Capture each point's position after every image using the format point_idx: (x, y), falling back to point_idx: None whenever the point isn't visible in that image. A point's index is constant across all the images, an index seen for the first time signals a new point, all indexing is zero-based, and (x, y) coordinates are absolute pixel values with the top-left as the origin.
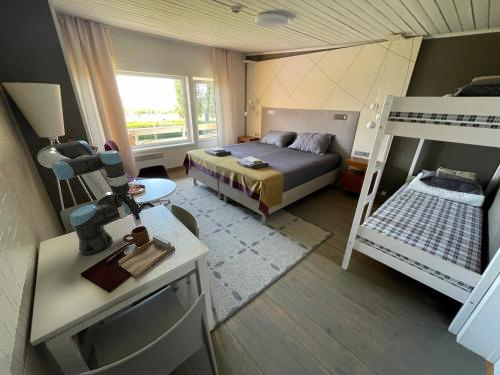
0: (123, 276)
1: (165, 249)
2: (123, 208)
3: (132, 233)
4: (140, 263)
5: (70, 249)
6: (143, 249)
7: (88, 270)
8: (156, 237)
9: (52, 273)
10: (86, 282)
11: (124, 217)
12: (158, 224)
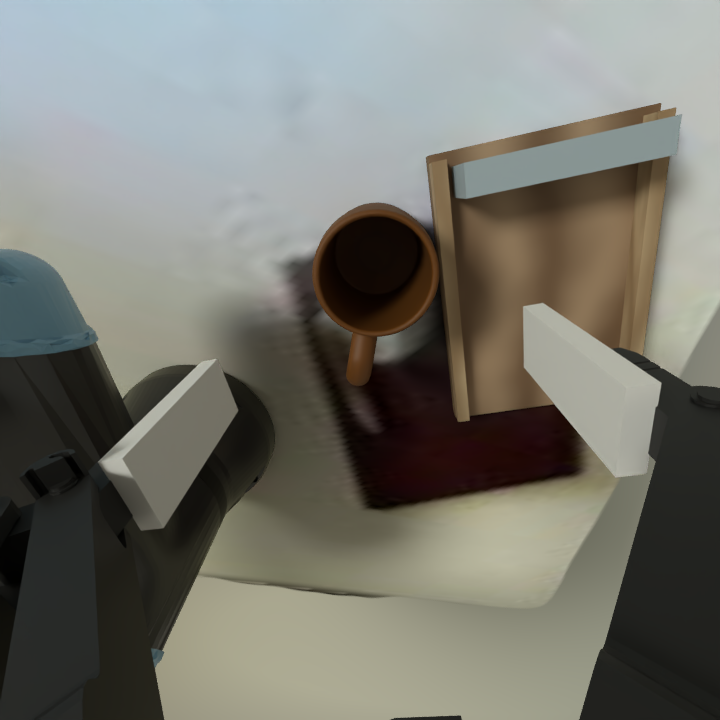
0: (545, 418)
1: (604, 174)
2: (155, 436)
3: (386, 335)
4: None
5: None
6: (461, 284)
7: (371, 490)
8: (511, 179)
9: (282, 559)
10: (440, 508)
11: (227, 383)
12: (199, 24)
